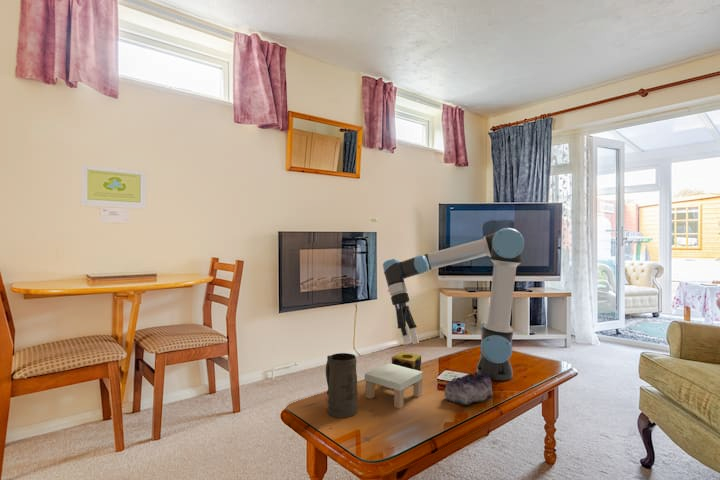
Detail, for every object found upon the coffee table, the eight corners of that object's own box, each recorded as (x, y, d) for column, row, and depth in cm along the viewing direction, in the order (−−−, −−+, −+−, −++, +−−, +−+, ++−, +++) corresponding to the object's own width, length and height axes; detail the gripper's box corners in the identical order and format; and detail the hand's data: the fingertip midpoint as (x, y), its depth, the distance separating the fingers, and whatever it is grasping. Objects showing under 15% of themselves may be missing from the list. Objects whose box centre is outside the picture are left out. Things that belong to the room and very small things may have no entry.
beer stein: (365, 411, 138) (362, 354, 138) (344, 421, 130) (341, 361, 130) (334, 401, 148) (332, 349, 148) (313, 410, 140) (311, 355, 140)
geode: (475, 387, 160) (479, 364, 159) (498, 402, 150) (502, 377, 149) (437, 396, 150) (441, 371, 149) (460, 412, 140) (464, 385, 139)
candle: (390, 381, 166) (390, 357, 166) (399, 373, 175) (399, 351, 175) (413, 385, 162) (413, 361, 161) (421, 377, 171) (421, 354, 170)
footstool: (422, 395, 152) (423, 371, 152) (400, 409, 139) (400, 384, 139) (388, 384, 162) (388, 363, 162) (364, 397, 150) (364, 373, 149)
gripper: (398, 299, 183) (411, 345, 176) (381, 293, 161) (395, 346, 154) (414, 294, 181) (427, 341, 174) (399, 288, 159) (413, 341, 152)
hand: (412, 343), depth 164 cm, fingers open, 13 cm apart
